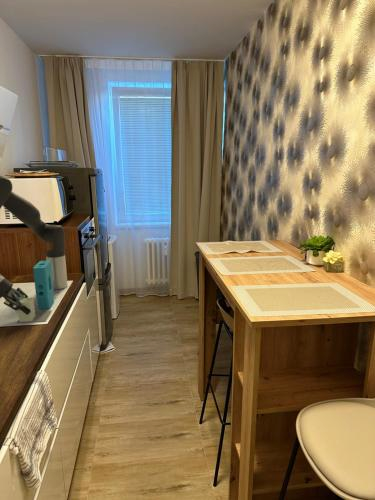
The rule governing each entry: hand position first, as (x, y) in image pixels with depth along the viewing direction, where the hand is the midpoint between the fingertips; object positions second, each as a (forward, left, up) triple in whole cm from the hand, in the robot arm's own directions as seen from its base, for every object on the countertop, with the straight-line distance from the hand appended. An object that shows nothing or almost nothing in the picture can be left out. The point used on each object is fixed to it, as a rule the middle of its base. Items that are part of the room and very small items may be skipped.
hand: (31, 310), depth 147 cm
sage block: (0, -2, -4) cm, 4 cm away
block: (-14, +2, -4) cm, 15 cm away
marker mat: (-2, 0, -4) cm, 5 cm away
